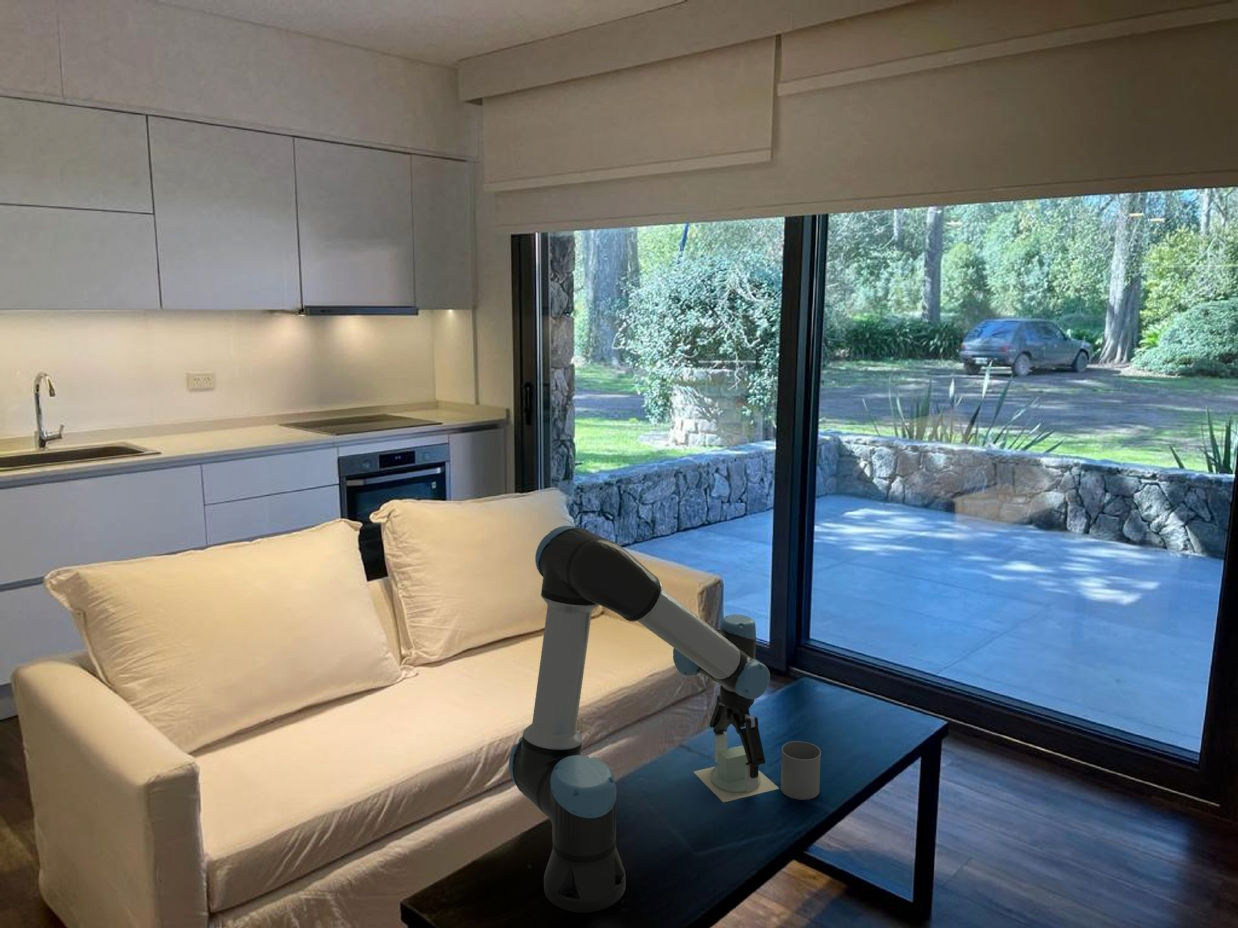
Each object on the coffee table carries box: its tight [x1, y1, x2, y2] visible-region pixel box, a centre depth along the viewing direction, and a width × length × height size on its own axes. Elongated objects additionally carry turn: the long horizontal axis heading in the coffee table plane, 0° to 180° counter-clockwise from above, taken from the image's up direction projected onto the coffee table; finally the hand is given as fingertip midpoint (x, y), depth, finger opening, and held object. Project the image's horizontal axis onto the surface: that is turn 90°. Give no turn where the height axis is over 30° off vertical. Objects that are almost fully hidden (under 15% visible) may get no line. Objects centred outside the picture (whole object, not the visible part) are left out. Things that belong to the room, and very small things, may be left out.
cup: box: [780, 740, 822, 801], centre depth 203 cm, size 8×8×10 cm
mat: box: [693, 766, 780, 803], centre depth 208 cm, size 14×14×1 cm
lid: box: [711, 744, 761, 793], centre depth 207 cm, size 11×11×7 cm
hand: (735, 774), depth 208 cm, fingers open, 13 cm apart
